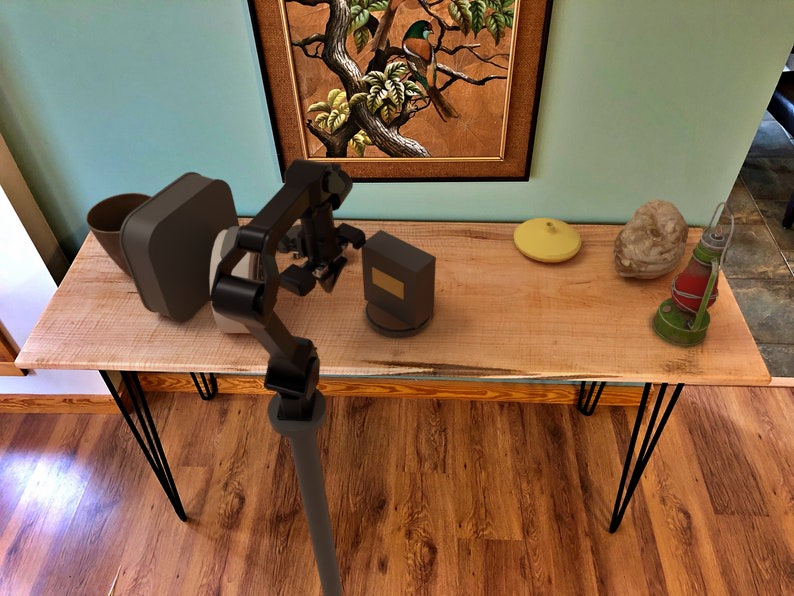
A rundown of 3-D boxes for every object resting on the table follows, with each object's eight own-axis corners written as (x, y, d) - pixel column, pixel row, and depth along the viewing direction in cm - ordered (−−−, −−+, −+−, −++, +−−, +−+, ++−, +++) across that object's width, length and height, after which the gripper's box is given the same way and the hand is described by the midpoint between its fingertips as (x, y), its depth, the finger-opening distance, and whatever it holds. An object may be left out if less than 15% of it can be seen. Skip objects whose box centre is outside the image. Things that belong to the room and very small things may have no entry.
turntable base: (431, 339, 127) (431, 334, 126) (362, 337, 128) (362, 332, 127) (431, 293, 138) (431, 288, 136) (368, 291, 138) (368, 286, 137)
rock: (682, 295, 136) (705, 240, 126) (608, 288, 138) (624, 233, 128) (669, 246, 149) (689, 192, 139) (602, 240, 151) (616, 187, 141)
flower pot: (174, 243, 152) (157, 187, 141) (178, 281, 141) (160, 224, 130) (110, 256, 148) (86, 199, 138) (109, 296, 138) (84, 238, 127)
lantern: (645, 304, 134) (687, 184, 114) (695, 306, 133) (747, 187, 113) (659, 352, 124) (708, 230, 104) (714, 355, 123) (775, 233, 103)
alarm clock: (258, 346, 126) (241, 272, 113) (222, 346, 126) (200, 272, 113) (275, 278, 142) (261, 205, 128) (242, 278, 142) (225, 205, 129)
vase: (593, 253, 147) (599, 229, 142) (544, 278, 141) (549, 253, 136) (546, 221, 157) (550, 197, 152) (498, 243, 150) (501, 219, 146)
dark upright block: (404, 340, 124) (404, 282, 114) (353, 310, 131) (348, 252, 121) (443, 306, 132) (446, 248, 121) (392, 279, 138) (391, 221, 128)
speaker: (176, 332, 129) (141, 235, 112) (144, 319, 132) (105, 223, 115) (247, 263, 146) (227, 170, 129) (218, 253, 149) (194, 160, 132)
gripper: (317, 187, 117) (327, 251, 128) (246, 239, 107) (264, 304, 117) (364, 205, 112) (370, 270, 123) (295, 261, 102) (308, 327, 112)
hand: (328, 292), depth 119 cm, fingers closed
